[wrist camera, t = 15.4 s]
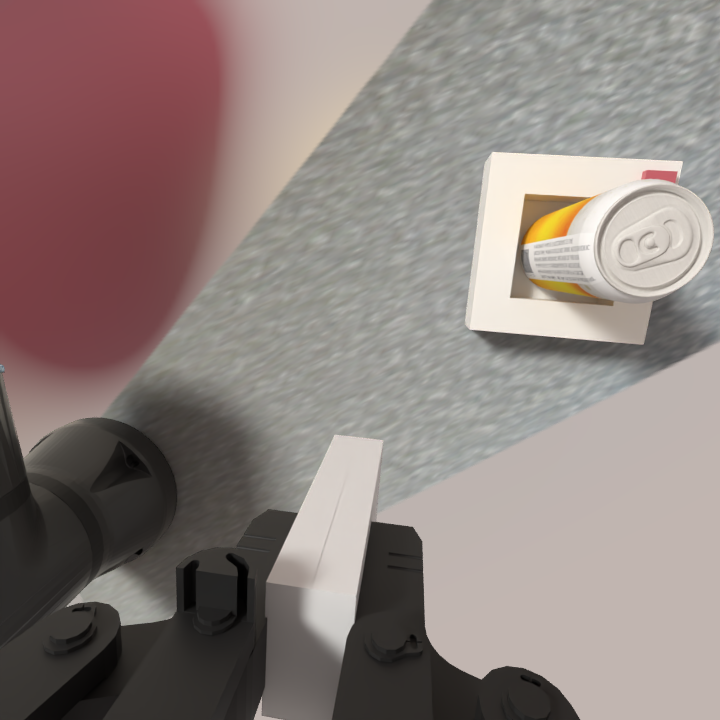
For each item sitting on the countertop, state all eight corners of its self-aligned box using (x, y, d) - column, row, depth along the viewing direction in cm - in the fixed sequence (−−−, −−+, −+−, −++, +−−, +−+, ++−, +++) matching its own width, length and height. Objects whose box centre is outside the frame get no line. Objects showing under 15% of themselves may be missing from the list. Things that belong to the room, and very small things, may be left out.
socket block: (464, 324, 38) (470, 330, 34) (484, 163, 36) (493, 150, 32) (622, 337, 37) (647, 346, 33) (656, 171, 34) (688, 159, 30)
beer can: (606, 271, 36) (739, 275, 21) (532, 301, 37) (609, 324, 22) (581, 199, 35) (702, 150, 20) (506, 232, 36) (569, 209, 21)
